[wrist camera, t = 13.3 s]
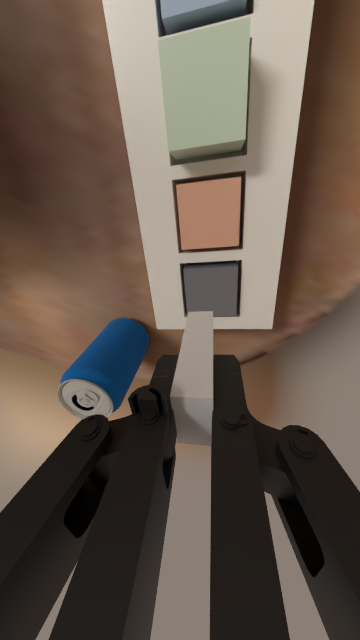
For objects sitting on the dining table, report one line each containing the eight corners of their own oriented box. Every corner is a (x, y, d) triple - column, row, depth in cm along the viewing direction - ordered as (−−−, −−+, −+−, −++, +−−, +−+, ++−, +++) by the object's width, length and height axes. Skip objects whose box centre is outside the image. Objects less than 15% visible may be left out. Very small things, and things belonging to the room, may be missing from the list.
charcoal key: (190, 304, 24) (187, 316, 21) (187, 261, 22) (183, 269, 19) (234, 303, 23) (236, 315, 20) (235, 258, 21) (237, 266, 18)
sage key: (176, 159, 16) (168, 151, 14) (168, 70, 14) (157, 40, 11) (240, 150, 15) (245, 139, 13) (243, 53, 13) (250, 16, 11)
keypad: (166, 309, 28) (157, 329, 23) (117, -55, 15) (75, -163, 10) (262, 307, 26) (272, 329, 21) (305, -120, 13) (351, -291, 8)
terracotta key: (186, 244, 21) (181, 249, 18) (181, 187, 19) (175, 184, 16) (235, 240, 20) (238, 245, 17) (237, 180, 18) (241, 176, 15)
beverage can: (100, 333, 31) (42, 397, 21) (124, 306, 28) (71, 365, 18) (133, 360, 33) (95, 432, 22) (160, 337, 30) (130, 407, 20)
